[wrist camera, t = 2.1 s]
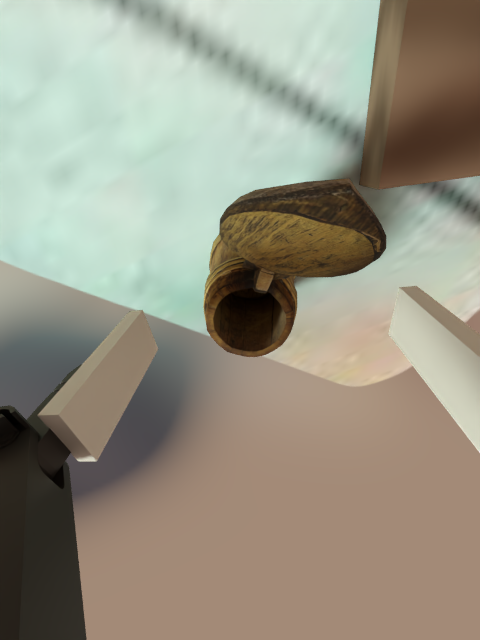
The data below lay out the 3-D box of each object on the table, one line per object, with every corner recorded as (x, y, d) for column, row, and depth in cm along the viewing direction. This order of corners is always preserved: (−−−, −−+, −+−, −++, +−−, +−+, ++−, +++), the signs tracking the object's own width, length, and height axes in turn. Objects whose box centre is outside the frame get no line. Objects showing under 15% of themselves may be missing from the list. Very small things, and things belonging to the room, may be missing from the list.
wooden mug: (332, 182, 21) (521, 236, 6) (277, 310, 28) (301, 478, 13) (233, 149, 20) (166, 114, 5) (203, 289, 28) (138, 445, 12)
